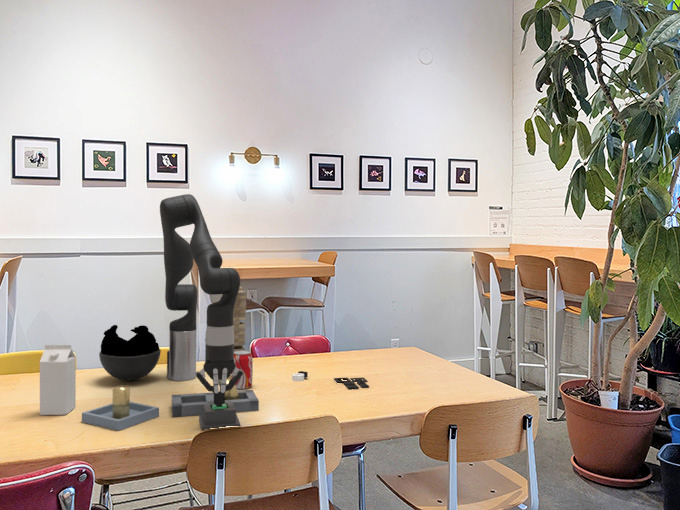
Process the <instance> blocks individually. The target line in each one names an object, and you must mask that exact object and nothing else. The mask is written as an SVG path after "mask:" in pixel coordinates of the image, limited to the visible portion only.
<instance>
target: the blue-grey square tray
mask: <svg viewBox="0 0 680 510" xmlns="http://www.w3.org/2000/svg"><path fill="white" fill-rule="evenodd" d="M158 417H160V407H159V406H158V407H157V406H155V405H154V406H153V405H149V404H145V403H139V402H134V401H130V416H128V417H125V418H122V419H115V418H113V402H111V403H109V404H105V405H103V406H99V407H96V408H92V409H90V410H86V411H83V412H81V423H84V424H89V425H93V426H97V427H101V428H104V429H110V430H113V431H117V432H119V431H121V430H124V429H127V428H130V427H133V426H137V425H139V424H141V423H144V422H147V421H150V420H152V419H156V418H158Z"/></svg>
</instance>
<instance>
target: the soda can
mask: <svg viewBox="0 0 680 510" xmlns="http://www.w3.org/2000/svg"><path fill="white" fill-rule="evenodd" d="M251 353H252V351H251V350H246V349H245V350H239V351H234V363H235V365H236V367H237V368H238V369H240V370H242V372H243V375H242V376H241V378H240V379H239V380H238V381H237V383H236V384H235V386H236V389H237V390H248V389H250V388H251V387H252V386H253V375H254V374H253V372H254V371H253V367H254V366H253V365H254V364H253V361H254V359H253V358H254V357H253V355H252V354H251ZM233 373H234V371H233V372H232V373H231V376H232V377H233V376H234V375H233Z"/></svg>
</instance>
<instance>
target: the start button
mask: <svg viewBox="0 0 680 510" xmlns="http://www.w3.org/2000/svg"><path fill="white" fill-rule="evenodd" d="M226 408H227V405H226V404H222V407H217V406H216V405H215V404H214V405H212V409H226Z"/></svg>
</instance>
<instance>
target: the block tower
mask: <svg viewBox="0 0 680 510" xmlns="http://www.w3.org/2000/svg"><path fill="white" fill-rule="evenodd" d="M246 313H247V291H246V290H245V291H244V290H243V287H242V286H240V288H239V291H238V295H237V298H236V302H235V306H234V310H233V329H234V351H239V350H246V348H244V346H245V345H246V323H245V322H242V321H246V320H247V316H246Z"/></svg>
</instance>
